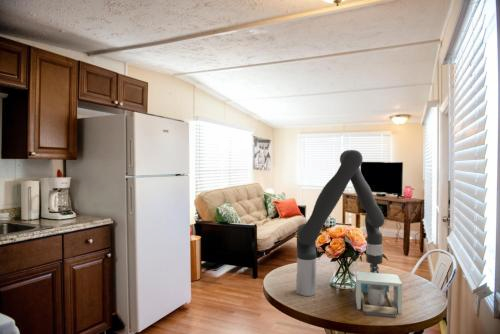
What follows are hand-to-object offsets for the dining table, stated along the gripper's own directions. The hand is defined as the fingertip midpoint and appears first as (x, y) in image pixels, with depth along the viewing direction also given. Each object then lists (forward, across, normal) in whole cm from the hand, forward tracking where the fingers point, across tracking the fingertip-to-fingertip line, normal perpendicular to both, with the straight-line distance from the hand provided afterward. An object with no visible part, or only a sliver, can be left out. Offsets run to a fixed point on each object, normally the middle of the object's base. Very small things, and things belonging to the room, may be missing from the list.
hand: (374, 287), depth 166 cm
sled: (+3, +11, 0) cm, 11 cm away
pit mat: (+3, +25, 0) cm, 25 cm away
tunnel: (+3, +15, 0) cm, 15 cm away
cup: (+3, +15, 0) cm, 15 cm away
